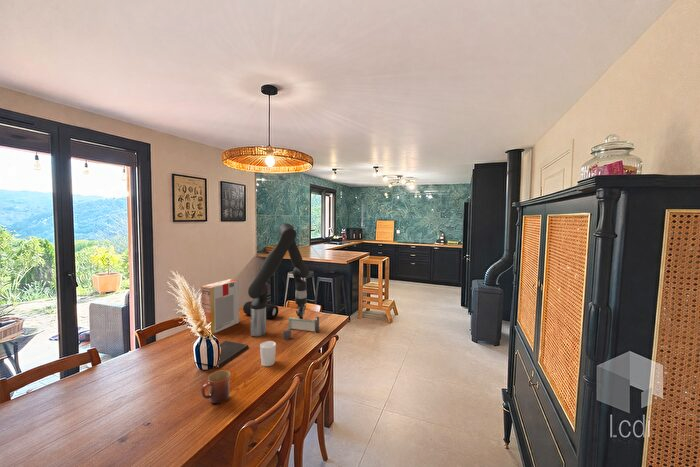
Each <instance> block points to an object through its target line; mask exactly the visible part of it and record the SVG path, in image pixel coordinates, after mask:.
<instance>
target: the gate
mask: <svg viewBox="0 0 700 467" xmlns="http://www.w3.org/2000/svg"><path fill="white" fill-rule="evenodd" d="M288 329H290V330H293V329H294V330H300V331H309V332H315V320H312V319H307V318H306V319H305V318H303V319H299V318H297V317H293V316H292V317H291V316H290V317H288Z"/></svg>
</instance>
